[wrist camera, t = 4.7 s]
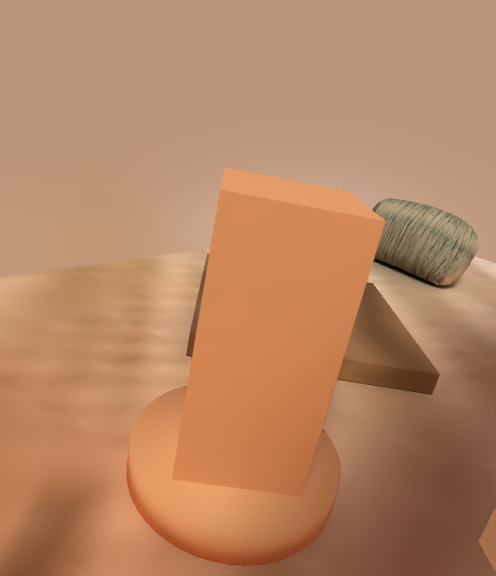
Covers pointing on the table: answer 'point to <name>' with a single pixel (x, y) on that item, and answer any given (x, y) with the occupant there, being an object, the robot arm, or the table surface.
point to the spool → (425, 241)
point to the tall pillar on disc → (258, 376)
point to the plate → (371, 347)
